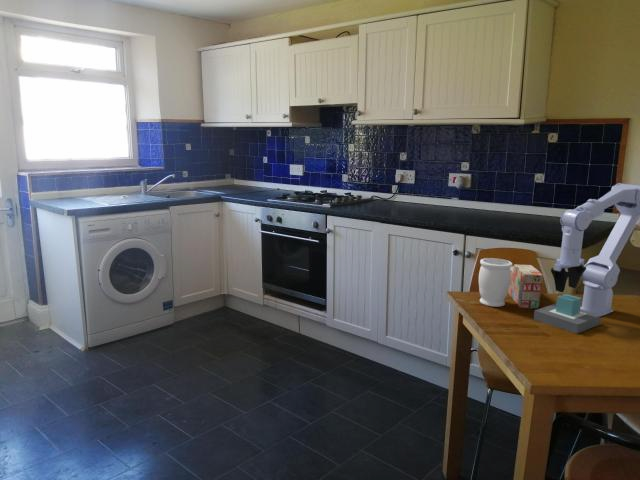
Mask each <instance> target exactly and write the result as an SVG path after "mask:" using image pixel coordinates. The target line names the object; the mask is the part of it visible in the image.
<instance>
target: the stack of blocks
mask: <svg viewBox="0 0 640 480" xmlns="http://www.w3.org/2000/svg"><path fill="white" fill-rule="evenodd" d="M510 271H511V281H510V286H509V289H508V293H507V295H509V297H511V299H513V301H514V302H515V303H516V305H517V304H518V305H517V306H518V307H519V308H520V309H534V308H539V307H540V302H541V300H540V299H541V294H542V293H541V292H542V286H543V278H544V275H543V274H542V272H541V271H539V270H538V269H537V268H535V266H533V265H531V264H513V265H512V266H511V267H510ZM539 309H540V308H539Z"/></svg>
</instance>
